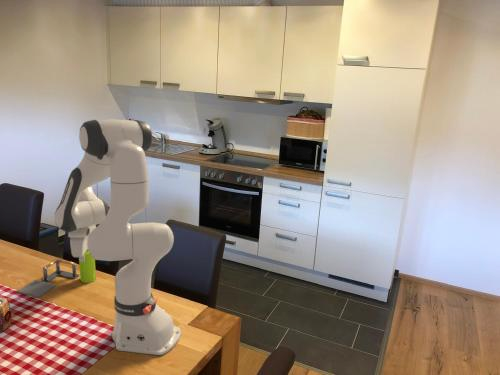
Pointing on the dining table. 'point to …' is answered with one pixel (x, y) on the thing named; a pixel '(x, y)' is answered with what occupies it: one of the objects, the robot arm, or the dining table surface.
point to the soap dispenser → (87, 269)
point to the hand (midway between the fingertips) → (85, 257)
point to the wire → (59, 271)
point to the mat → (36, 288)
